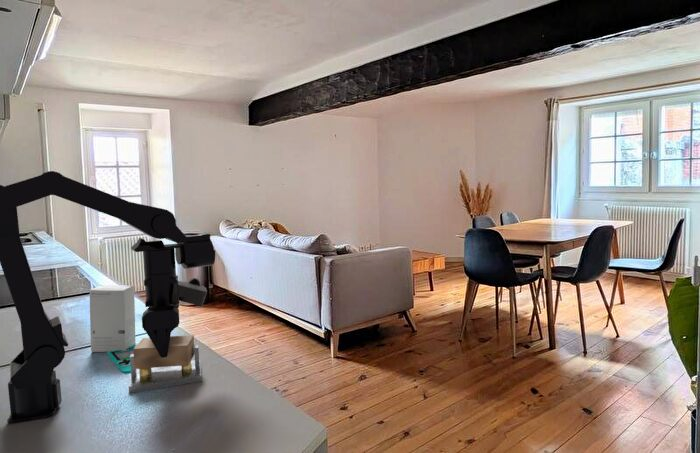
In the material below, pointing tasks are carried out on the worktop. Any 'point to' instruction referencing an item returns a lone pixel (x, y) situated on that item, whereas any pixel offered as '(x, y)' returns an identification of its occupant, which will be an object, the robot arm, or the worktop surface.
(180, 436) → the worktop surface
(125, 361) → the handheld gaming console
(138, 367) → the tan block
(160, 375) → the chassis
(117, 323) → the skincare box
